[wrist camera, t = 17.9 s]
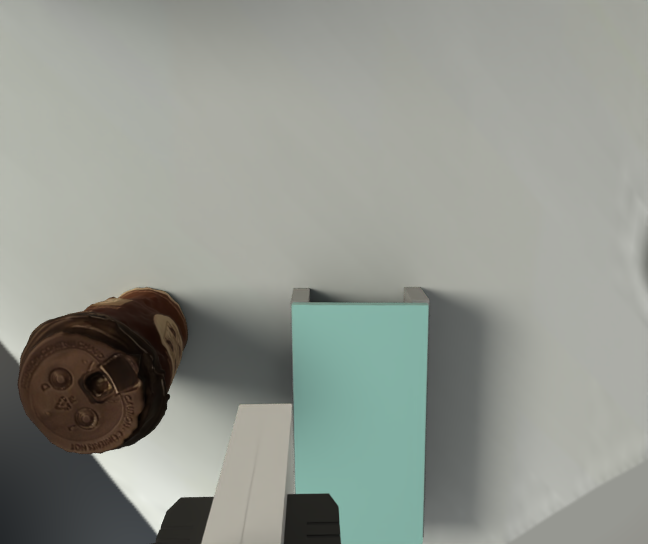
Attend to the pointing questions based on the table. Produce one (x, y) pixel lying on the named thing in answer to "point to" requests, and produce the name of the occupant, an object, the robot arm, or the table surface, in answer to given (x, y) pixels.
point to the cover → (362, 414)
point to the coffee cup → (103, 371)
